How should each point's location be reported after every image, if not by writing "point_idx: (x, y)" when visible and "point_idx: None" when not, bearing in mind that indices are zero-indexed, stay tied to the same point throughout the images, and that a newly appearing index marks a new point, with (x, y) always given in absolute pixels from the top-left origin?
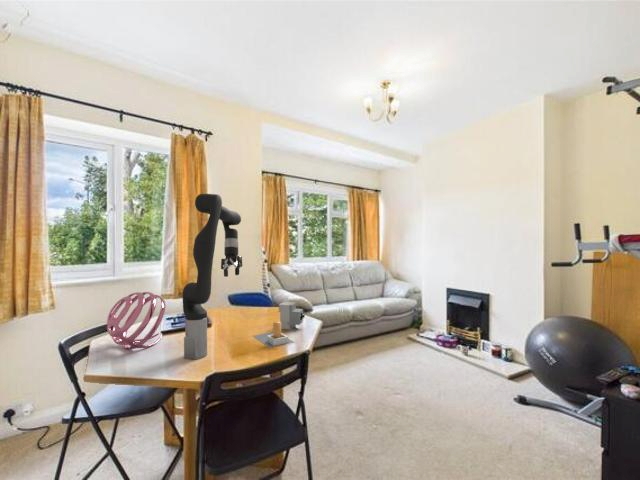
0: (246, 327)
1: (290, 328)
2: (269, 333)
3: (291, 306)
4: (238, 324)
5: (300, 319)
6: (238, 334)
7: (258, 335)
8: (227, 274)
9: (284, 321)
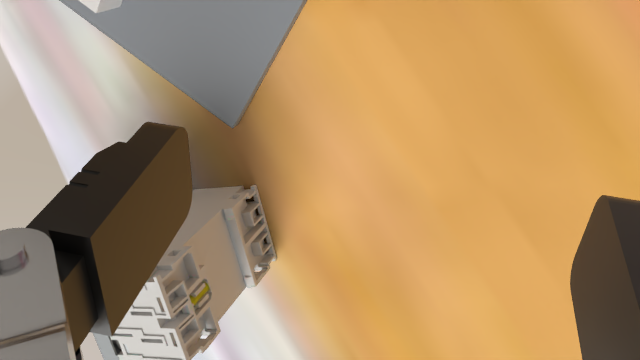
0: (507, 189)
1: None
2: (239, 74)
3: None
4: None
5: None
6: (462, 10)
7: (276, 6)
8: (583, 304)
9: (190, 213)
